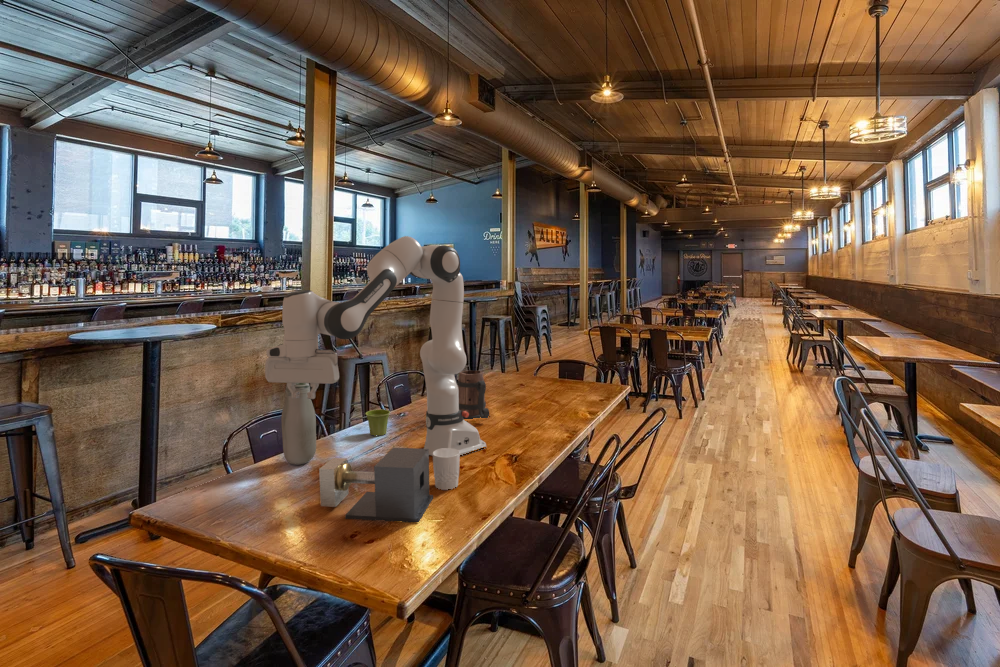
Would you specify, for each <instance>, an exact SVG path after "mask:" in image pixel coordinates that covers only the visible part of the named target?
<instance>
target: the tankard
mask: <svg viewBox="0 0 1000 667" xmlns="http://www.w3.org/2000/svg"><path fill="white" fill-rule="evenodd" d="M484 379H485V378H484V375H483V371H482V370H462V371H461V372H460V373H458V380H457V381H456V383H457V386H458V390H459V410H461V411H466V412H468V413H469V416H468V417H467V418H465V417H463V419H473V418H480V417H481V418H488V416H489V415H490V410H489V408H488V407H486V405H487V404H486V400H485V399H486V397H485V395H486V389H487V388H486V385H487V384H486V381H485V380H484ZM488 419H489V418H488Z"/></svg>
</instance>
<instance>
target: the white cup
mask: <svg viewBox="0 0 1000 667" xmlns="http://www.w3.org/2000/svg"><path fill="white" fill-rule="evenodd" d="M460 457H461V456H460V451H459V450H457V449H453V448H442V449H438V450H435V451H434V452H433V456H432V466H433V475H434V476H433V477H434V487H435V488H436V489H437V488H438V489H437V490H440V489H441V491H449V490H448V489H451V490H453V488H454V489H456V488H457V487H458V486H459V477H460V462H461V461H460ZM455 487H456V488H455Z"/></svg>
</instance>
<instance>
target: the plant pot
mask: <svg viewBox="0 0 1000 667" xmlns="http://www.w3.org/2000/svg"><path fill="white" fill-rule="evenodd" d="M390 413H391V411H390V410H387V409H379V408H378V409H373V410H368V411H366V412H365V415H366V418H367V422H368V428H369V434H370V435H371V436H372V435H374V436H373V437H379V436H385V435H387V431H388V421H389V416H390ZM384 434H385V435H384ZM376 435H377V436H376ZM378 435H379V436H378Z"/></svg>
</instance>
